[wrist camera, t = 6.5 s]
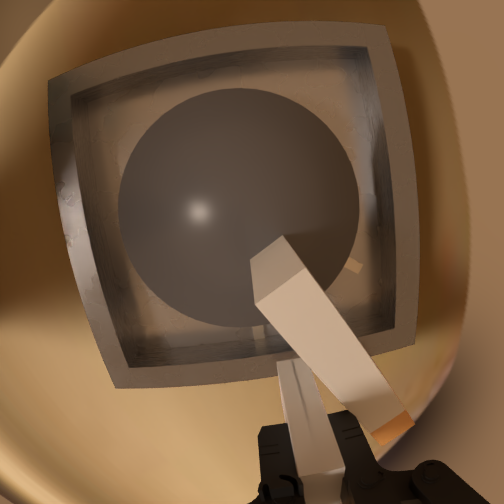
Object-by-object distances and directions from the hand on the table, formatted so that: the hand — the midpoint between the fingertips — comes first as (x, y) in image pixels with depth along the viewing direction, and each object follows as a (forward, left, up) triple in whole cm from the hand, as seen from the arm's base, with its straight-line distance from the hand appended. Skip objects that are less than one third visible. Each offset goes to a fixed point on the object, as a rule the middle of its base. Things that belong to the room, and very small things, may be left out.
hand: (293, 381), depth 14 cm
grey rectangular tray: (-1, +8, -5) cm, 10 cm away
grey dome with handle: (0, +5, -4) cm, 7 cm away
